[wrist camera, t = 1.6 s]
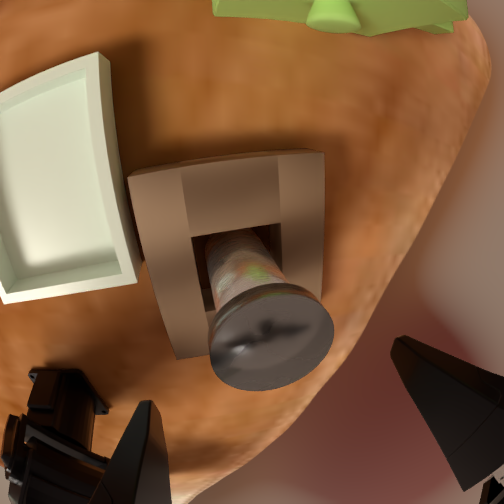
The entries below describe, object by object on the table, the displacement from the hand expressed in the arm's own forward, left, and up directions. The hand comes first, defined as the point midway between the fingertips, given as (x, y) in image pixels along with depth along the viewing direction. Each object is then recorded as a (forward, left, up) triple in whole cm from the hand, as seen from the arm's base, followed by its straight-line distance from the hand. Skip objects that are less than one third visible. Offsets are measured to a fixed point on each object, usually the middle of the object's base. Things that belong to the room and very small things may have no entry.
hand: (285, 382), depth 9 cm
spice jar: (0, 0, -11) cm, 11 cm away
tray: (+7, +11, -10) cm, 17 cm away
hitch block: (0, 0, -11) cm, 11 cm away
